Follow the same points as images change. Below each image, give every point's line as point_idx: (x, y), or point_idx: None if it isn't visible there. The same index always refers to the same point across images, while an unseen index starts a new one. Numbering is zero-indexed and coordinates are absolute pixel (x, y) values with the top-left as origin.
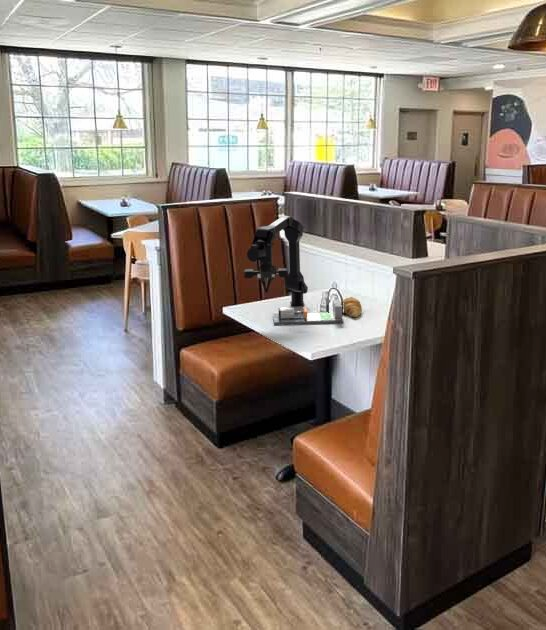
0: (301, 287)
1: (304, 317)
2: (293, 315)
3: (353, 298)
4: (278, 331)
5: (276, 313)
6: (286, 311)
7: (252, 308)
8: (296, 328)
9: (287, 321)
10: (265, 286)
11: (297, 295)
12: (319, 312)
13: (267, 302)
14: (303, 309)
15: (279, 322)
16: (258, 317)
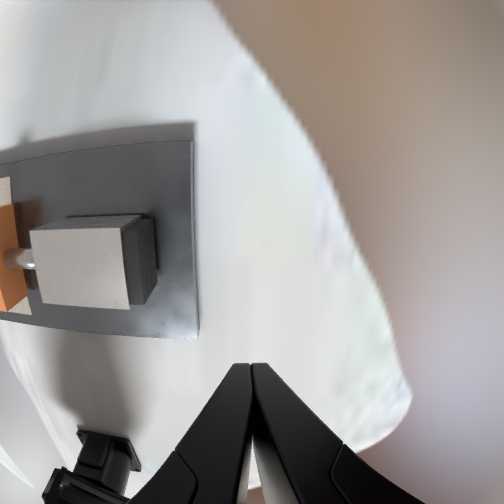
0: (52, 488)
1: (14, 220)
2: (55, 221)
3: None
4: (176, 22)
5: (177, 338)
6: (81, 226)
7: None
8: (69, 81)
9: (100, 159)
10: (280, 438)
11: (89, 470)
12: None
13: None
14: (14, 304)
15: (153, 143)
16: (292, 313)
